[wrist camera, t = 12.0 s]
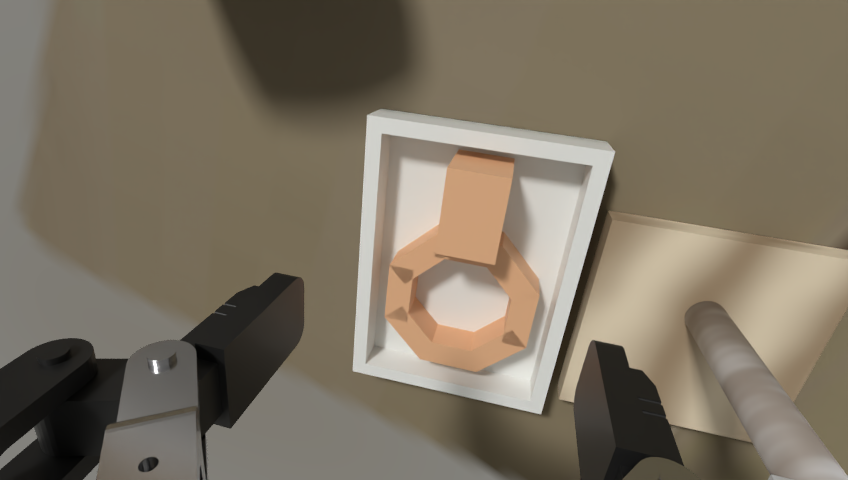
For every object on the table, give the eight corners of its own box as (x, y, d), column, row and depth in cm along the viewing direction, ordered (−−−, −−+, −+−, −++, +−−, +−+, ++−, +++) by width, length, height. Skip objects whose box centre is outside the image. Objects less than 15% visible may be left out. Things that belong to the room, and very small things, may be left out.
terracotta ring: (566, 167, 24) (573, 189, 20) (518, 360, 29) (516, 405, 26) (409, 141, 25) (390, 157, 22) (389, 332, 30) (371, 370, 27)
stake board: (852, 250, 23) (1216, 484, 11) (757, 427, 28) (934, 724, 16) (607, 210, 25) (685, 373, 13) (557, 383, 30) (578, 621, 18)
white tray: (606, 141, 24) (615, 151, 21) (540, 386, 30) (541, 414, 28) (381, 108, 25) (367, 114, 23) (365, 347, 32) (352, 370, 30)
